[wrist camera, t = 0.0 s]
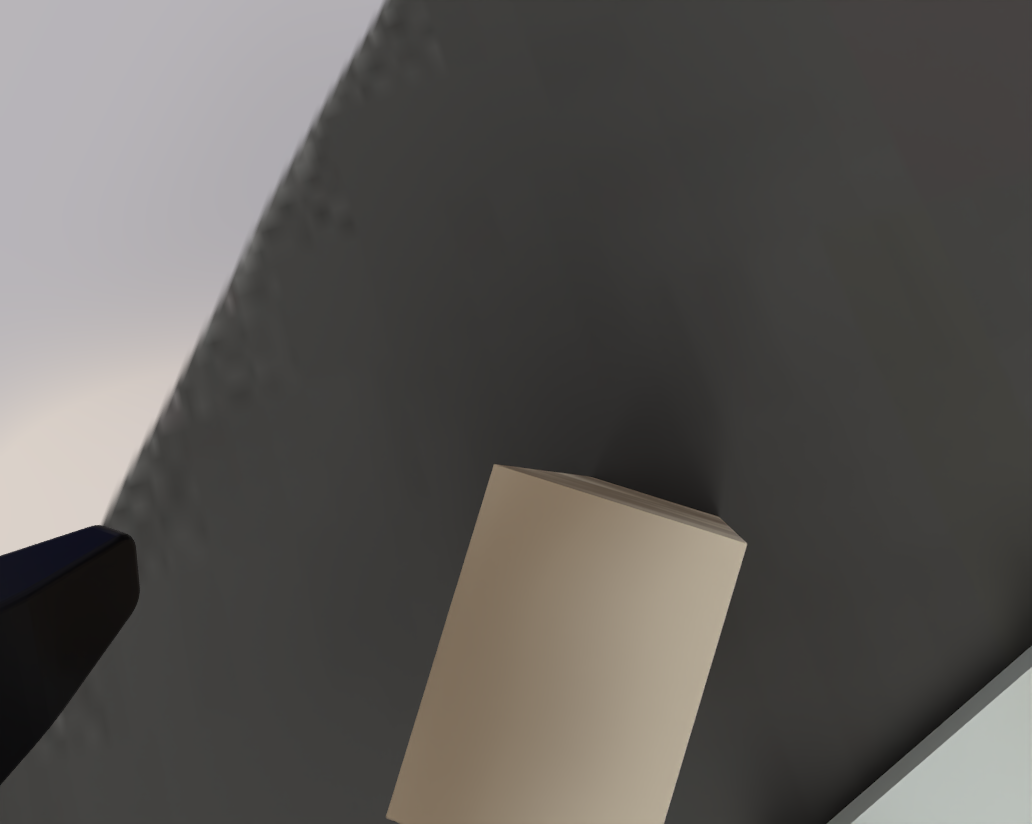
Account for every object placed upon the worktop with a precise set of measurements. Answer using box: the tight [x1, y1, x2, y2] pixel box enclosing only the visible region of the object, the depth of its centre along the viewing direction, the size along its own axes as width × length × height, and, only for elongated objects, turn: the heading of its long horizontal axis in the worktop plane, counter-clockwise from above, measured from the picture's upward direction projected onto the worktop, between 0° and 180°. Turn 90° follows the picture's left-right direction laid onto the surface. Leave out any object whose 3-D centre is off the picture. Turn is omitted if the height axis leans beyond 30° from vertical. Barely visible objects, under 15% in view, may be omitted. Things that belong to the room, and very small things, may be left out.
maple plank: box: [386, 464, 747, 824], centre depth 18 cm, size 4×5×12 cm
